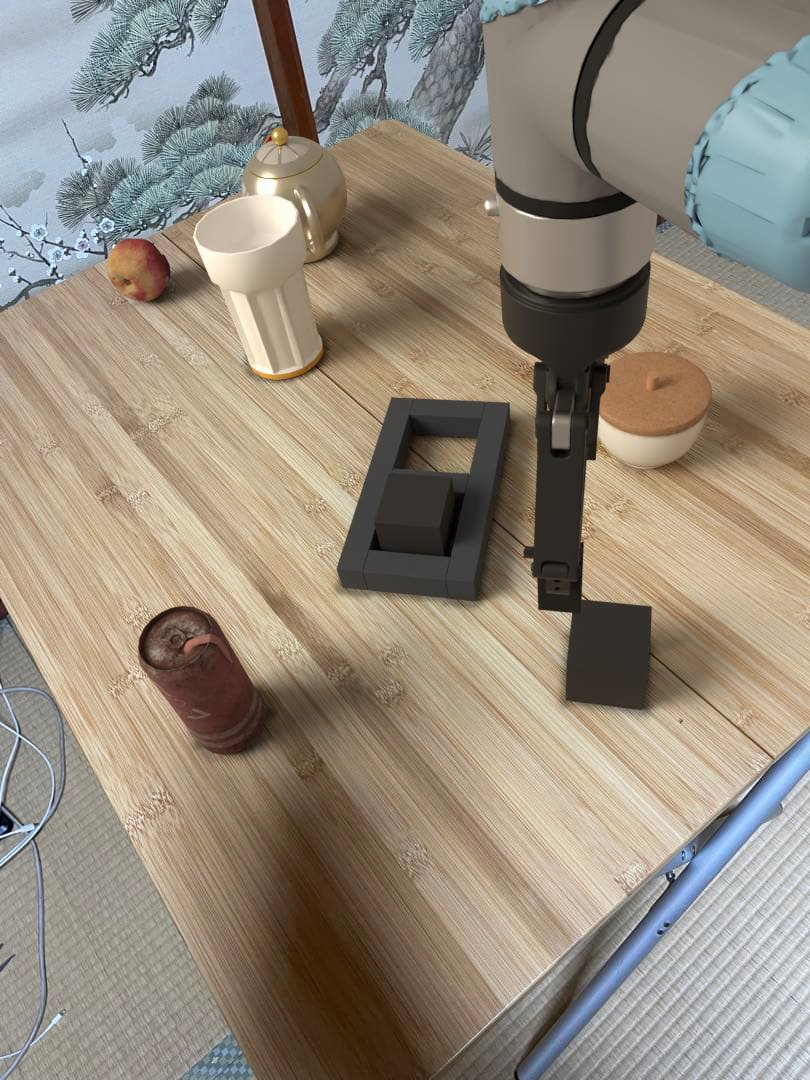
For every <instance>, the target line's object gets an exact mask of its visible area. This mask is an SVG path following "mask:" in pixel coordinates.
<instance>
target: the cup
mask: <svg viewBox="0 0 810 1080" xmlns="http://www.w3.org/2000/svg"><path fill="white" fill-rule="evenodd" d="M192 236H193V237H192V239H193V241H194V243H195V246H196V248H197V250H198V253H199V256H200V257H201V260H202V263H203V265H204V267H205V270H206V272H207V274H208V276H209V279H210V281H211V282H212V283H213V284H215V285H217V286H218V287H219V289H220V291H221V294H222V297H223V300H224V302H225V305H226V307H227V309H228V312H229V314H230V317H231V319H232V322H233V324H234V327H235V330H236V332H237V335H238V337H239V339H240V342H241V344H242V346H243V347H242V348H243V349H244V353H245V354H246V357H247V361H248V364H249V366H250V369H251V370H252V372H253V373H254V374H256V375H258V376H259V377H262V378H263V379H264V378H265V379H268V380H275V381H279V380H287V379H293V378H295V377H298V376H301V375H304V374H306V373H307V372H308V371H310V370H311V369H312V368H313V367H315V366H316V365H317V364H318V362H320V360H321V358H322V357H323V355H324V343H323V339H322V337H321V335H320V334H319V332H318V329H317V324H316V319H315V315H314V311H313V306H312V303H311V298H310V294H309V289H308V286H307V281H306V276H305V272H304V267H303V265H304V264H305V263H304V261H305V259H306V249H307V247H306V243H305V238H304V233H303V229H302V224H301V219H300V215H299V211H298V210H297V208H296V207H295V205H294V204H293V202H291V201H289V200H286V199H284V198H282V197H280V196H273V195H262V194H260V195H253V196H246V197H238V198H235V199H232V200H229V201H226V202H222V203H221V204H219V205H218V206H216V207H214V208H213V209H211V210H209V211H208V212H206V213H205V214H204V216H202V217H201V219H200V220H199V221H198V222H197V223H196V225H195V228H194V232H193V235H192Z"/></svg>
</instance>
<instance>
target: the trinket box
mask: <svg viewBox="0 0 810 1080" xmlns="http://www.w3.org/2000/svg"><path fill="white" fill-rule="evenodd" d="M607 365H610V379H609V383H606V389H605V392H604V393H603V394H602V396H601V398H600V411H599V424H598V435H597V438H598V439H599V441H600V442H601V444H602V446H603V447H604V448H605V450H606V451H607V452H608V453H609V454H610V455H611V456H613V458H616V459H617V460H619V461H620V462H622V463H623V464H624V465H627V466H628V467H631V468H635V469H638V470H639V469H640V470H652V469H653V470H654V469H658V468H660V467H664V466H665V465H668V464H670V463H673V462H674V461H677V460H678V459H680V458H681V457H683V456H684V455H685V454H686V453H688V451H690V449H692V447H693V446H694V445H695V443H696V442H697V440H698V438H699V437H700V435H701V433H702V431H703V428H704V425H705V423H706V419H707V416H708V412H709V409H710V406H711V404H712V400H713V399H712V398H713V386H712V383H711V380H710V379H709V377H708V376H707V374H706V373H705V372H704V371H703V369H702V368H700V367H699V366H698V365H697V364H695V363H694V362H692V361H691V360H689V359H687V358H685V357H683V356H680V355H677V354H673V353H668V352H664V351H663V352H662V351H639V352H634V353H629V354H626V355H623V356H620V357H618V358H616V359H613V360H612V361H610V362H609V363H607Z"/></svg>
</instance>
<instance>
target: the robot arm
mask: <svg viewBox="0 0 810 1080" xmlns="http://www.w3.org/2000/svg"><path fill="white" fill-rule="evenodd" d="M479 21H480V24H482V38H483V39H482V40H483V49H484V50H483V51H484V65H485V75H486V76H485V78H486V89H487V103H488V115H489V116H488V117H489V128H490V141H491V143H490V145H491V155H492V169H494V172H493V173H494V184H495V194H490V195H487V196H486V198H485V200H484V203H483V211H484V214H485V215H487V216H488V217H499V221H498V226H497V236H498V237H497V239H498V254H499V259H500V263H501V264H500V268H499V286H500V304H501V305H500V307H501V320H502V321H501V322H502V326H503V329H504V331H505V334H506V335H507V337H508V338H509V340H510V341H511V342H512V343H513V344H514V346H516V347H517V348H519V349H520V350H521V351H523V352H524V353H526V354H528V355H531V356H532V357H533V358H536V359H537V360H538V361H534V365H533V375H532V376H533V378H532V390H533V392H534V393H535V395H536V405H535V416H534V417H535V418H534V437H535V438H536V471H535V472H536V475H535V502H534V528H533V529H534V531H533V546H530V545H525V547H524V549H523V554H522V556H523V559H528V560H529V559H530V560H532V562H531V564H530V572H531V576H532V578H534V579H536V583H537V584H536V586H537V587H536V589H537V610H538V611H548V612H556V613H569V614H572V613H577V614H580V613H581V602H582V599H583V598H582V597H583V574H584V551H585V548H584V547H585V542H584V541H582V532H583V519H584V506H585V505H584V504H585V491H586V478H587V465H588V464H587V463H588V461H594V462H595V461H596V460H597V451H598V449H597V447H598V446H597V445H598V424H599V411H600V398H601V396H602V394H603V393H604V392H605V389H606V383H609V379H610V365H608V363H607V362H606V360H607V359H609V357H610V355H612V354H615V353H617V352H619V351H620V350H622V349H624V348H625V347H627V346H628V345H629V344H630V343H632V342H633V340H634V339H636V338H637V336H638V335H639V334H640V332H641V330H642V328H643V327H644V324H645V322H646V318H647V309H648V302H649V301H648V300H649V292H650V291H649V290H650V282H651V270H652V264H651V258H652V256H653V253H654V249H655V242H656V233H657V221H658V215H659V216H660V217H662V218H663V219H665V220H666V221H668V222H670V223H671V224H673V225H674V226H676V227H677V228H679V229H680V230H682V231H683V232H685V233H687V234H689V235H690V236H692V237H693V238H695V239H697V240H698V241H699V242H700V243H701V244H703V245H706V248H707V250H709V251H710V252H712V253H713V254H716V255H717V256H718V257H719V258H720V259H721V258H722V259H724V261H727V263H732V262H735V263H737V264H739V265H741V266H743V267H744V268H746V267H749V268H751V269H752V270H755V271H757V272H759V273H761V274H763V275H765V276H767V277H769V278H771V279H773V280H776V281H777V282H780V283H781V284H783V285H785V286H788V287H789V288H791V289H794V290H795V291H797V292H801V293H803V294H804V293H805V294H809V295H810V0H483V4H482V6H481V9H480V11H479Z"/></svg>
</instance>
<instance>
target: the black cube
mask: <svg viewBox="0 0 810 1080" xmlns="http://www.w3.org/2000/svg"><path fill="white" fill-rule="evenodd" d="M652 615H653V606H651V605H643V604H632V603H622V602H611V601H601V600H591V599H583V598H582V602H581V613H580V614H577V613H571V619H570V630H569V638H568V646H567V655H566V656H567V657H566V667H565V669H566V670H565V671H566V672H565V701H566V702H574V703H582V704H589V705H599V706H606V707H613V708H614V707H615V708H620V709H621V708H622V709H630V710H636V711H637V710H638V711H642V710H643V709H644V708H643V707H644V702H645V697H646V691H647V685H648V680H649V675H650V661H651V659H650V658H651V657H650V656H651V654H650V653H651V637H652V634H651V633H652Z"/></svg>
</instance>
